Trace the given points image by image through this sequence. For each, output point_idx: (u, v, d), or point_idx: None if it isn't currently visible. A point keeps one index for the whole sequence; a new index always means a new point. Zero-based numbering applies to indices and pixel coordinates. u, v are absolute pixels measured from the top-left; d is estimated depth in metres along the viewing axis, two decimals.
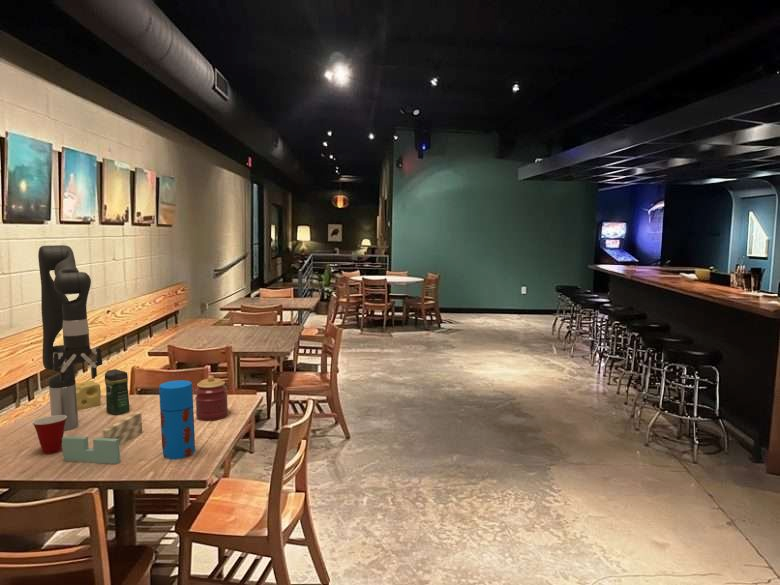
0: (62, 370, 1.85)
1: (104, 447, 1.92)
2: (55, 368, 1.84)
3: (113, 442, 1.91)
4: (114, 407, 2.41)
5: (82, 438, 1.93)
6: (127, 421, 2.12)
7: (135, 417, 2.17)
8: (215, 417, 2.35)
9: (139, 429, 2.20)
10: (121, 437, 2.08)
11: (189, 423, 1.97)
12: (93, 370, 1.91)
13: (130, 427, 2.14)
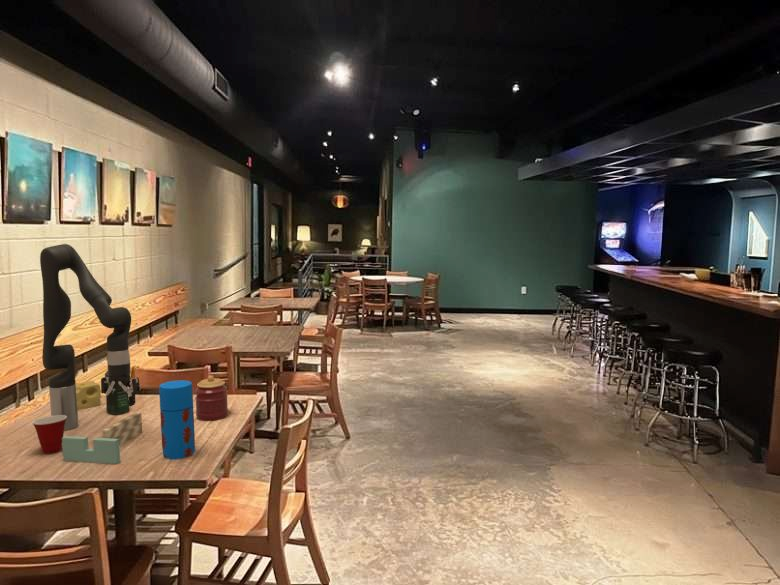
0: None
1: (104, 447, 1.92)
2: None
3: (113, 442, 1.91)
4: (114, 407, 2.41)
5: (82, 438, 1.93)
6: (127, 421, 2.12)
7: (135, 417, 2.17)
8: (215, 417, 2.35)
9: (139, 429, 2.20)
10: (121, 437, 2.08)
11: (189, 423, 1.97)
12: None
13: (130, 427, 2.14)
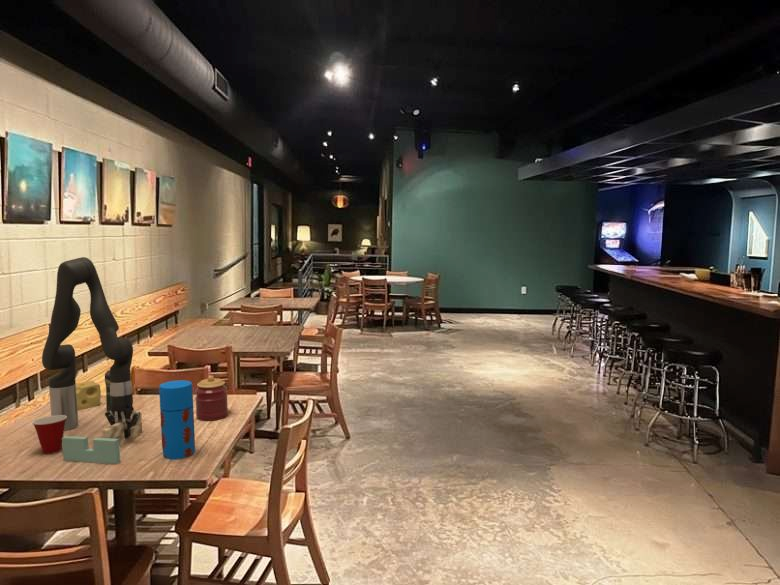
0: None
1: (104, 447, 1.92)
2: None
3: (113, 442, 1.91)
4: None
5: (82, 438, 1.93)
6: None
7: None
8: (215, 417, 2.35)
9: (139, 429, 2.20)
10: (121, 437, 2.08)
11: (189, 423, 1.97)
12: None
13: None
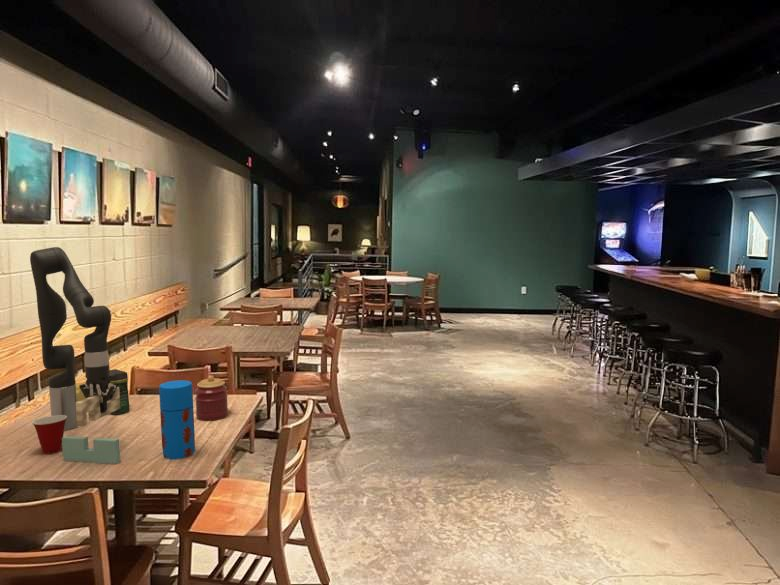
0: None
1: (104, 447, 1.92)
2: None
3: (113, 442, 1.91)
4: None
5: (82, 438, 1.93)
6: None
7: None
8: (215, 417, 2.35)
9: (117, 405, 2.06)
10: (95, 411, 1.95)
11: (189, 423, 1.97)
12: None
13: None
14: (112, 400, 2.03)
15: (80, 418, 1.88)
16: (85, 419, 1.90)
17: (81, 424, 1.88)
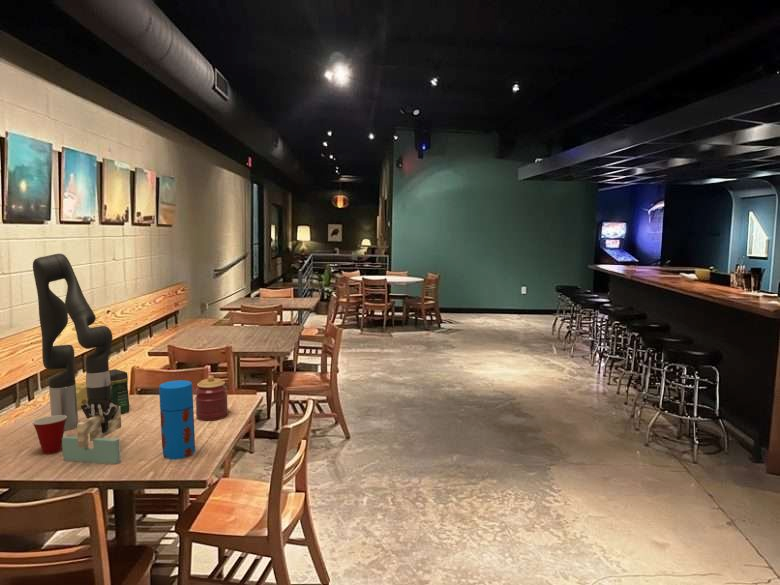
0: None
1: (104, 447, 1.92)
2: None
3: (113, 442, 1.91)
4: None
5: None
6: None
7: None
8: (215, 417, 2.35)
9: (118, 424, 2.07)
10: (97, 431, 1.95)
11: (189, 423, 1.97)
12: None
13: None
14: (113, 419, 2.04)
15: (82, 439, 1.89)
16: (86, 440, 1.90)
17: (82, 445, 1.89)
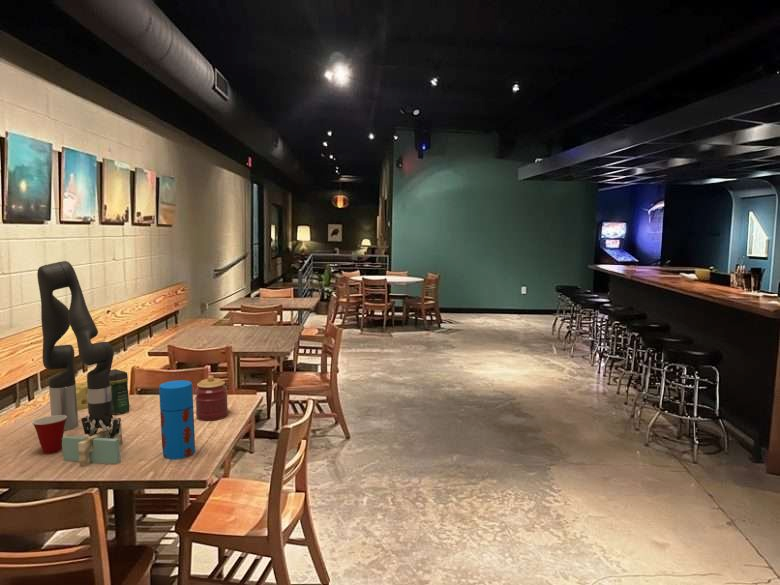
0: None
1: (104, 447, 1.92)
2: None
3: (113, 442, 1.91)
4: (114, 407, 2.41)
5: (82, 438, 1.93)
6: (105, 433, 2.00)
7: None
8: (215, 417, 2.35)
9: (119, 441, 2.07)
10: None
11: (189, 423, 1.97)
12: None
13: None
14: (114, 437, 2.05)
15: (83, 458, 1.90)
16: (88, 459, 1.91)
17: (84, 464, 1.90)
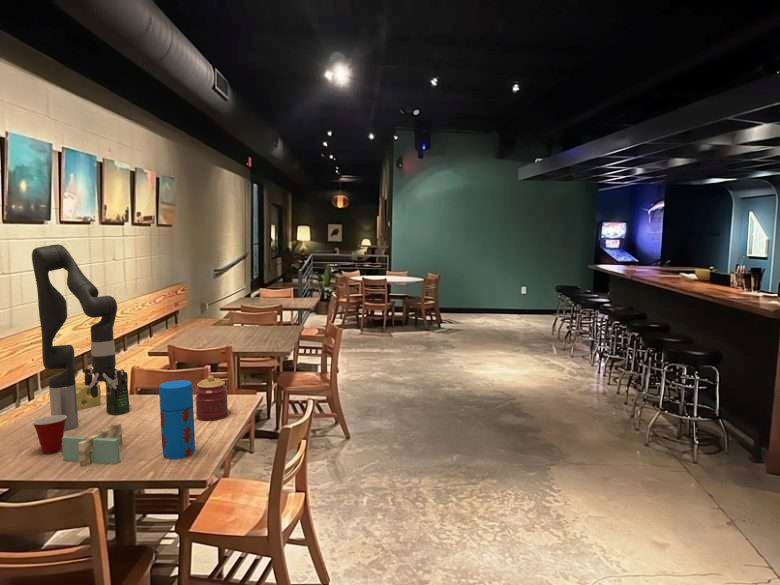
0: None
1: (104, 447, 1.92)
2: None
3: (113, 442, 1.91)
4: (114, 407, 2.41)
5: (82, 438, 1.93)
6: (105, 433, 2.00)
7: (114, 428, 2.05)
8: (215, 417, 2.35)
9: (119, 441, 2.07)
10: None
11: (189, 423, 1.97)
12: None
13: None
14: (114, 437, 2.05)
15: (83, 458, 1.90)
16: (88, 459, 1.91)
17: (84, 464, 1.90)
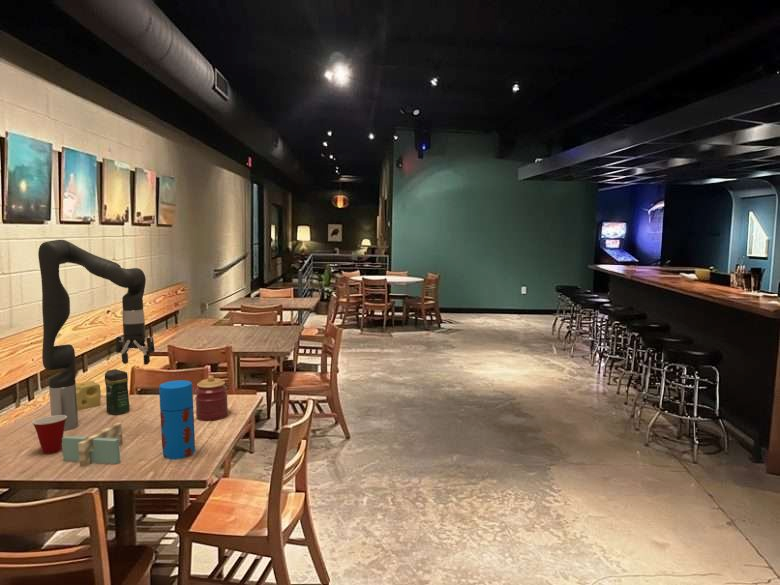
0: None
1: (104, 447, 1.92)
2: None
3: (113, 442, 1.91)
4: (114, 407, 2.41)
5: (82, 438, 1.93)
6: (105, 433, 2.00)
7: (114, 428, 2.05)
8: (215, 417, 2.35)
9: (119, 441, 2.07)
10: None
11: (189, 423, 1.97)
12: None
13: None
14: (114, 437, 2.05)
15: (83, 458, 1.90)
16: (88, 459, 1.91)
17: (84, 464, 1.90)
